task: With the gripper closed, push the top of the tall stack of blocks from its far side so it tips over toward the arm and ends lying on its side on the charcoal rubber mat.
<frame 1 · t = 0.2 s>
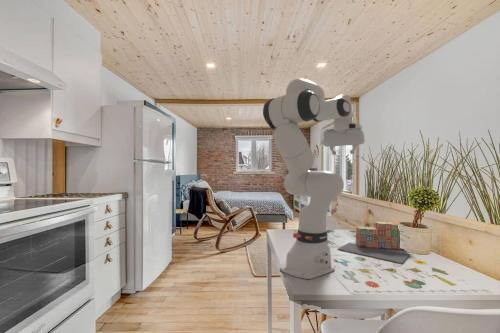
hand: (342, 154, 126), 48 cm above the table, tool pointing down, fingers open, 8 cm apart
charcoal rubber mat: (372, 252, 118), on the table
stack of blocks: (379, 247, 126), on the table, touching charcoal rubber mat
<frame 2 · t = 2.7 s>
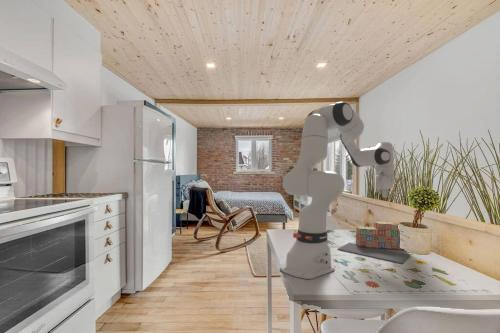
hand: (385, 197, 135), 25 cm above the table, tool pointing down, fingers closed
nothing on the table moved.
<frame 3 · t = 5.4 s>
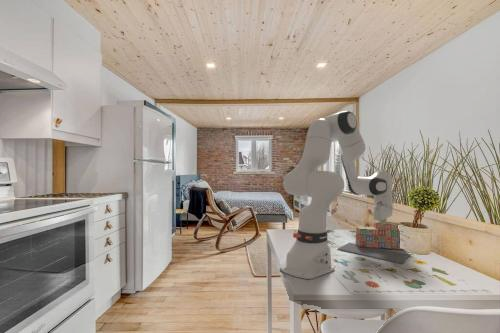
hand: (383, 226, 132), 9 cm above the table, tool pointing down, fingers closed
stack of blocks: (379, 247, 126), on the table, touching charcoal rubber mat, gripper
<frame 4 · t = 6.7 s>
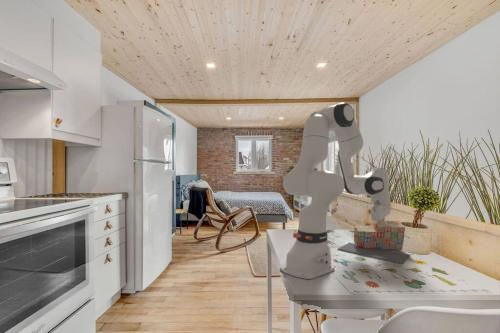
hand: (381, 226, 127), 11 cm above the table, tool pointing down, fingers closed
stack of blocks: (377, 245, 126), point 1 cm above the table, touching charcoal rubber mat, gripper
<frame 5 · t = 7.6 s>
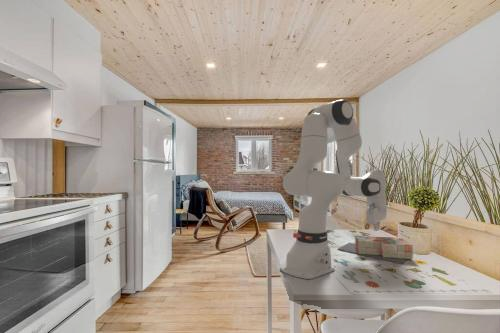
hand: (376, 230, 124), 9 cm above the table, tool pointing down, fingers closed
stack of blocks: (378, 242, 122), point 4 cm above the table, touching charcoal rubber mat
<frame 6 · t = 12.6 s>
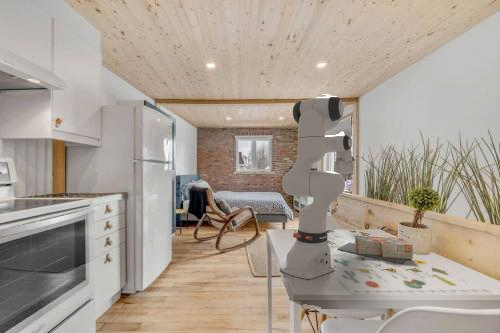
hand: (344, 181, 147), 33 cm above the table, tool pointing down, fingers closed
nothing on the table moved.
at the end: stack of blocks tilted 90°; stack of blocks inside the target area (2.5 cm from its centre), point 3.6 cm above the table; stack of blocks touching charcoal rubber mat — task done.
